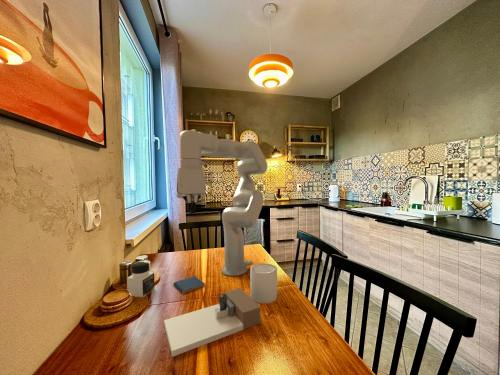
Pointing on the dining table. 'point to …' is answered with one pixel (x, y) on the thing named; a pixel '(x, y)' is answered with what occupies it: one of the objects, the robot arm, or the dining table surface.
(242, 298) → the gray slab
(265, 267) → the mug
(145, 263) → the medicine bottle
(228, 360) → the dining table surface
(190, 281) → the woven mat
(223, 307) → the bolt
